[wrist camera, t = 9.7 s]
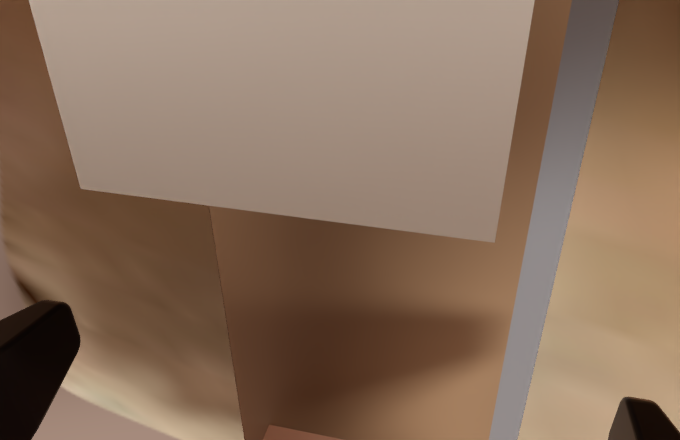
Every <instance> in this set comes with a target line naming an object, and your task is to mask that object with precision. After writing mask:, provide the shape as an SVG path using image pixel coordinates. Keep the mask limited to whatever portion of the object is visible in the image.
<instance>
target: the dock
mask: <svg viewBox="0 0 680 440" xmlns="http://www.w3.org/2000/svg"><path fill="white" fill-rule="evenodd" d="M618 3H619V0H572V3H571V8H570V14H569V19H568V24H567V29H566V35H565V40H564V45H563V51H562V56H561V61H560V66H559V72H558V77H557V82H556V88H555V93H554V98H553V103H552V109H551V114H550V119H549V124H548V130H547V135H546V140H545V146H544V151H543V156H542V161H541V167H540V172H539V177H538V183H537V188H536V193H535V198H534V204H533V209H532V214H531V220H530V225H529V230H528V235H527V241H526V246H525V251H524V257H523V262H522V267H521V272H520V278H519V283H518V288H517V293H516V299H515V304H514V309H513V315H512V320H511V325H510V330H509V336H508V341H507V346H506V352H505V357H504V362H503V367H502V373H501V378H500V383H499V389H498V394H497V399H496V404H495V410H494V415H493V420H492V426H491V431H490V436H489V440H517V439H518V435H519V431H520V426H521V422H522V418H523V413H524V409H525V405H526V400H527V396H528V392H529V387H530V383H531V379H532V374H533V370H534V366H535V361H536V357H537V353H538V348H539V344H540V340H541V336H542V331H543V327H544V323H545V318H546V314H547V310H548V305H549V301H550V297H551V292H552V288H553V284H554V279H555V275H556V271H557V266H558V262H559V258H560V253H561V249H562V245H563V240H564V236H565V232H566V227H567V223H568V219H569V215H570V210H571V206H572V202H573V197H574V193H575V189H576V184H577V180H578V176H579V171H580V167H581V163H582V158H583V154H584V150H585V145H586V141H587V137H588V132H589V128H590V124H591V119H592V115H593V111H594V106H595V102H596V98H597V94H598V89H599V85H600V81H601V76H602V72H603V68H604V63H605V59H606V55H607V50H608V46H609V42H610V37H611V33H612V29H613V24H614V20H615V16H616V11H617V7H618Z"/></svg>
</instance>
